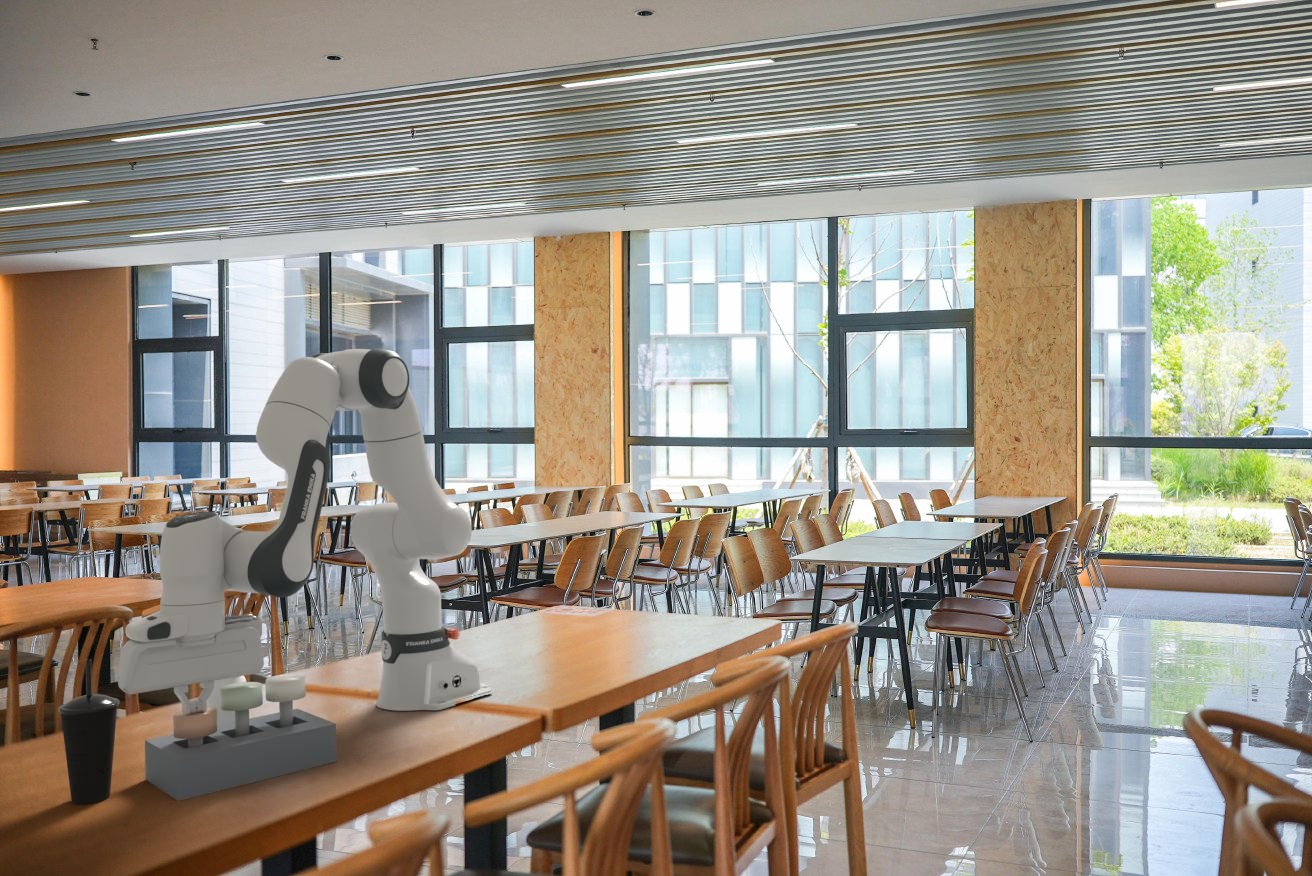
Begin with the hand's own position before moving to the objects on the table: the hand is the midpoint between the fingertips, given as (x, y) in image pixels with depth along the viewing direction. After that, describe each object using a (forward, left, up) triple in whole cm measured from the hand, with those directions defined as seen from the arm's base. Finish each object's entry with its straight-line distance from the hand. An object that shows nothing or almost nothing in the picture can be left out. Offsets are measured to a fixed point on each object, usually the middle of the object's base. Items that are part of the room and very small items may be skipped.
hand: (194, 712), depth 151 cm
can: (-11, -17, -11) cm, 23 cm away
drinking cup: (+13, -4, -11) cm, 17 cm away
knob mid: (-7, 0, -6) cm, 9 cm away
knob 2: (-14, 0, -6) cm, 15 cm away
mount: (-7, 0, -10) cm, 13 cm away
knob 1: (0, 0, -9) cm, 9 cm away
